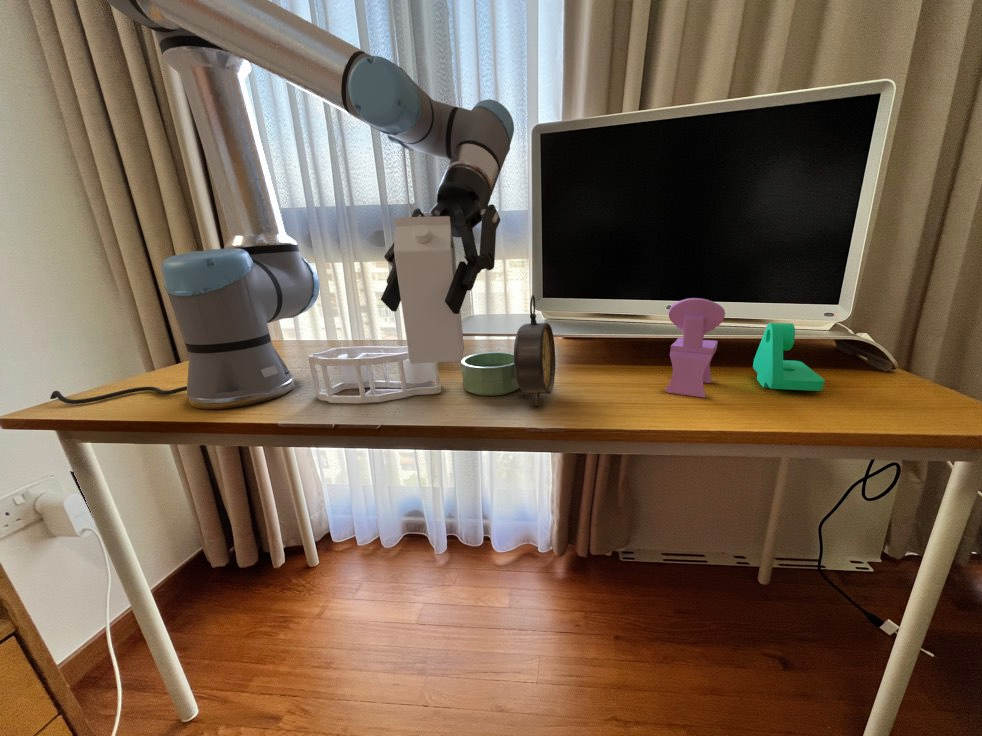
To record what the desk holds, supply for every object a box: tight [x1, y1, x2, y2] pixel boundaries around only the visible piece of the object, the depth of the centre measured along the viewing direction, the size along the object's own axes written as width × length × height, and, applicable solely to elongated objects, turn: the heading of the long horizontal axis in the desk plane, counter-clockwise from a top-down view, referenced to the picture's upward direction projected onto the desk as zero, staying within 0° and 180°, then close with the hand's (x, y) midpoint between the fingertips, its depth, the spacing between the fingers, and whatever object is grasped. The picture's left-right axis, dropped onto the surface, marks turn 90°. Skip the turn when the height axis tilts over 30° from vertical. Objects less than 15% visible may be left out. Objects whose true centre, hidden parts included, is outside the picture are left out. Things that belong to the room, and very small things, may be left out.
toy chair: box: [665, 297, 726, 398], centre depth 70 cm, size 8×9×15 cm
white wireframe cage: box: [308, 345, 442, 404], centre depth 72 cm, size 20×11×7 cm, turn 85°
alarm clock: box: [513, 294, 556, 408], centre depth 66 cm, size 11×5×16 cm, turn 168°
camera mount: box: [752, 322, 826, 392], centre depth 71 cm, size 12×8×10 cm, turn 168°
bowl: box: [460, 351, 520, 397], centre depth 74 cm, size 10×10×5 cm
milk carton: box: [393, 216, 465, 364], centre depth 60 cm, size 7×7×19 cm
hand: (419, 306), depth 58 cm, fingers closed on milk carton, 9 cm apart
